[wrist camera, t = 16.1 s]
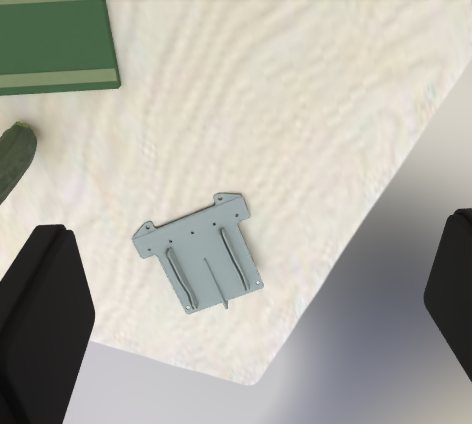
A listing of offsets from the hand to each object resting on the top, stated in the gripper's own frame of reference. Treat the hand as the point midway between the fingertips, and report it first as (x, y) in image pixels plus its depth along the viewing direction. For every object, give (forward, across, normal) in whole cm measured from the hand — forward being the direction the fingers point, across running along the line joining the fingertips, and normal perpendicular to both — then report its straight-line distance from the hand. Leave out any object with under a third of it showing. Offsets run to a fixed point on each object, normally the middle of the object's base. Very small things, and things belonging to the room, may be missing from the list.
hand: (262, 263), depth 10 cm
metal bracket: (+35, +3, +26) cm, 44 cm away
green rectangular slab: (+35, +21, 0) cm, 41 cm away
